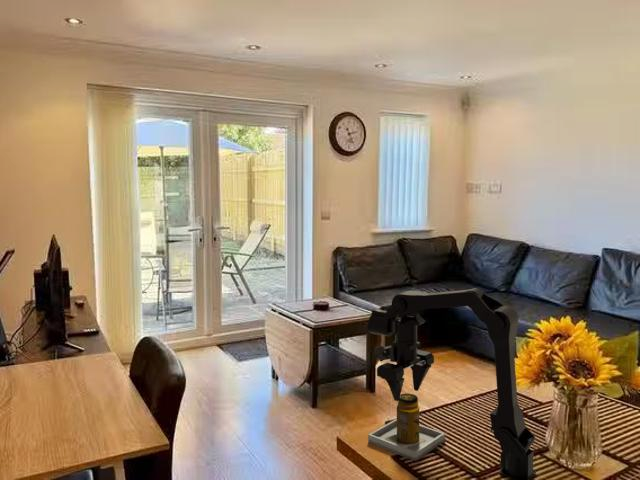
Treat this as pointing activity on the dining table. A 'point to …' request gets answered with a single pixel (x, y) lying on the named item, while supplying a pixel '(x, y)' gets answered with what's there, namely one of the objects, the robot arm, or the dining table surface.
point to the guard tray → (411, 452)
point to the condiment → (407, 422)
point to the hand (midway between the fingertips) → (406, 395)
